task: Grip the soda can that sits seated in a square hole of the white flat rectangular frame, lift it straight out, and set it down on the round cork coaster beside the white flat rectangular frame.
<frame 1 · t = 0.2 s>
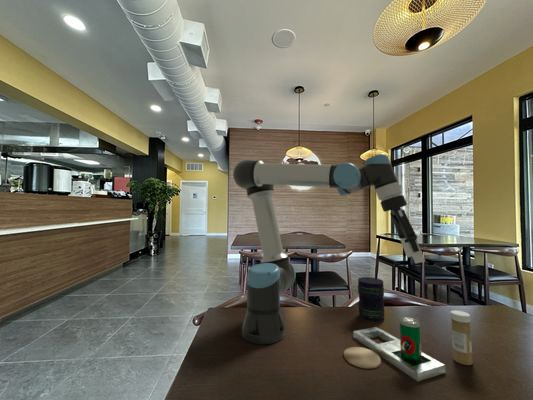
hand: (415, 259, 80), 27 cm above the table, tool tilted 20°, fingers open, 13 cm apart
white flat rectangular frame: (393, 352, 75), on the table
soda can: (411, 364, 69), resting in white flat rectangular frame
sprinkles bottle: (462, 361, 71), on the table
coaster: (361, 358, 72), on the table
dark blue canister: (371, 318, 101), on the table
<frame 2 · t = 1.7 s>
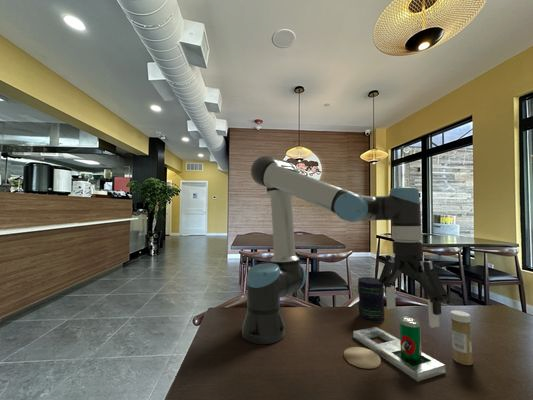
hand: (410, 316, 70), 13 cm above the table, tool pointing down, fingers open, 13 cm apart
nothing on the table moved.
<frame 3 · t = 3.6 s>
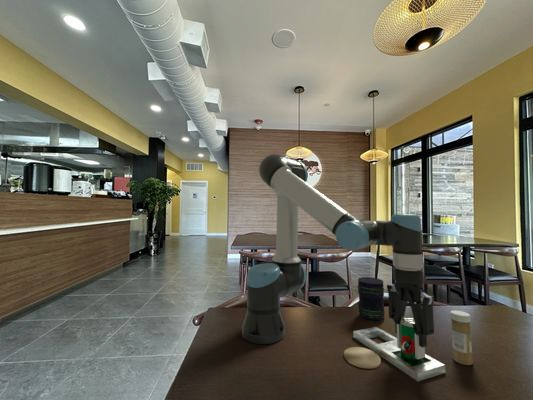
hand: (410, 351, 69), 3 cm above the table, tool pointing down, fingers closed on soda can, 5 cm apart
soda can: (411, 364, 69), resting in white flat rectangular frame, touching gripper
everything else where it was.
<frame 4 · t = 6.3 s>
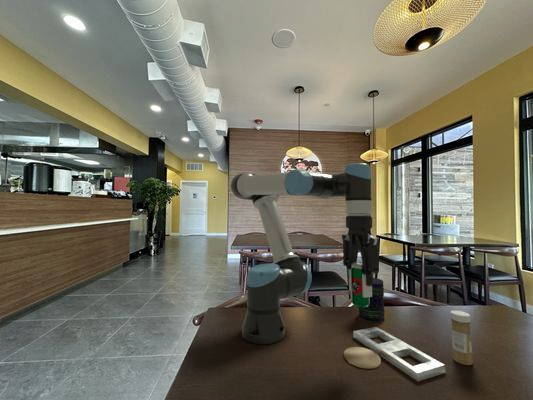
hand: (360, 293, 73), 18 cm above the table, tool pointing down, fingers closed on soda can, 5 cm apart
soda can: (360, 305, 73), point 15 cm above the table, touching gripper
everything else where it was.
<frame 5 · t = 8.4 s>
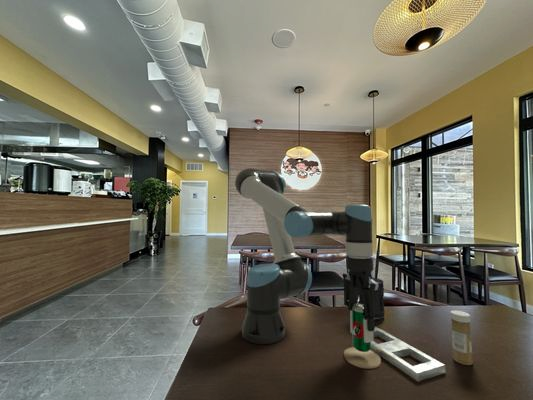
hand: (361, 336, 72), 6 cm above the table, tool pointing down, fingers closed on soda can, 5 cm apart
soda can: (361, 348, 72), point 3 cm above the table, touching gripper
everything else where it was.
when the fingers open (5 cm above the table, at t = 9.3 s): soda can drops 1 cm, resting on coaster.
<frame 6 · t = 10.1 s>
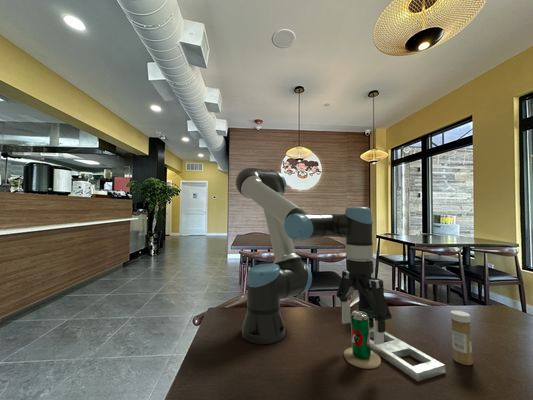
hand: (361, 332, 73), 7 cm above the table, tool pointing down, fingers open, 13 cm apart
soda can: (361, 356, 72), resting on coaster
everything else where it was.
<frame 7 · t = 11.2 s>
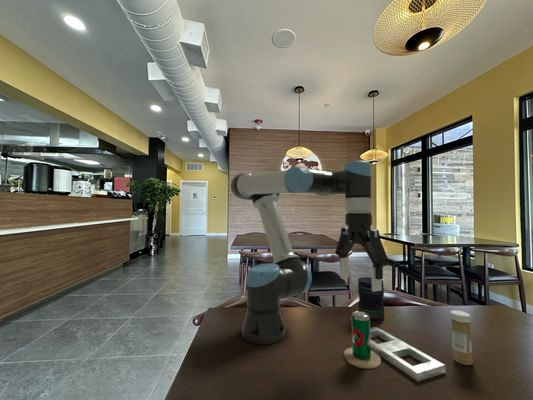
hand: (359, 284, 74), 21 cm above the table, tool pointing down, fingers open, 13 cm apart
nothing on the table moved.
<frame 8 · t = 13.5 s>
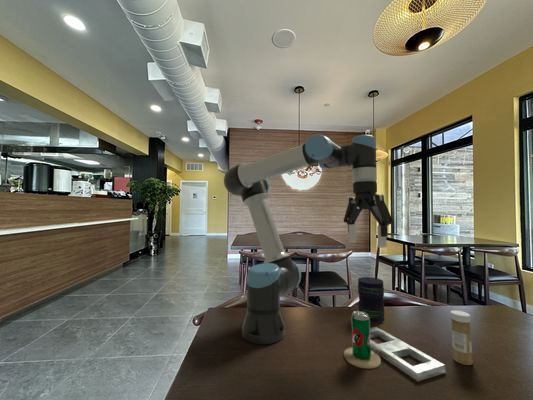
hand: (366, 245, 82), 32 cm above the table, tool pointing down, fingers open, 13 cm apart
nothing on the table moved.
at the end: soda can 0.1 cm from the coaster (horizontally); soda can tilted 1°; the gripper is holding nothing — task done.
